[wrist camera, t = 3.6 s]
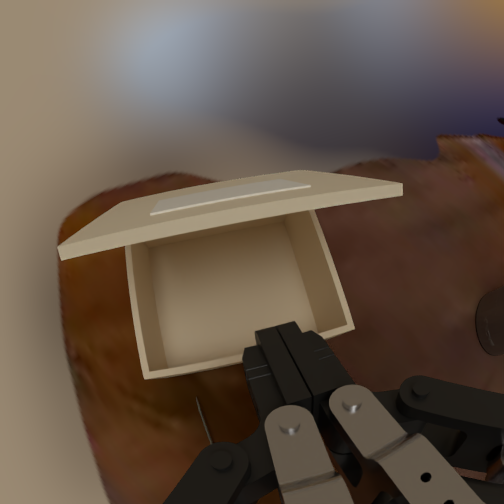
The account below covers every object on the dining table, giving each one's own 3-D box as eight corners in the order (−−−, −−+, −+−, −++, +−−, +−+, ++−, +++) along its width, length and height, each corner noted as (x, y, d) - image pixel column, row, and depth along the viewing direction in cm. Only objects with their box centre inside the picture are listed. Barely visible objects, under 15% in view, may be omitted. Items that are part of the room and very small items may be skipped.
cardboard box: (285, 219, 34) (301, 177, 27) (323, 340, 29) (354, 328, 22) (144, 246, 31) (122, 209, 24) (166, 377, 26) (144, 379, 19)
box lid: (301, 176, 26) (300, 168, 26) (402, 195, 13) (402, 181, 13) (122, 209, 24) (120, 201, 24) (61, 260, 11) (56, 244, 11)
